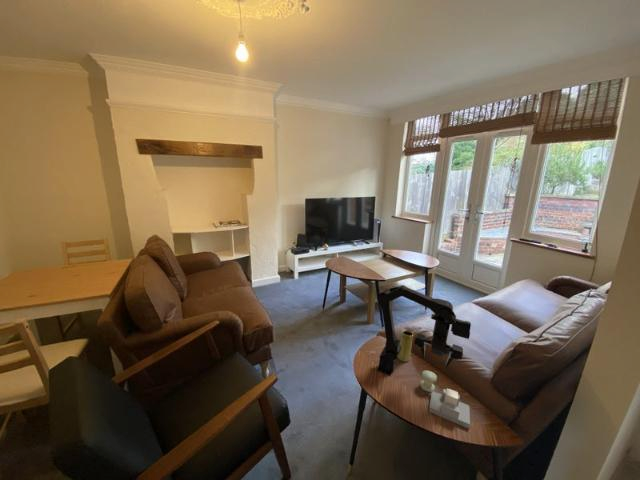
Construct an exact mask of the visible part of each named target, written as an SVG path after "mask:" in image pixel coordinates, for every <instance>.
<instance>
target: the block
mask: <svg viewBox="0 0 640 480" xmlns="http://www.w3.org/2000/svg"><path fill="white" fill-rule="evenodd" d="M458 395H459V392H458V391H456V390H454V389H453V390H452V389H450V388H446V395H445V400H444V402H445V403H448V404H450V405H453V406H455V407H456V406H457V401H458Z"/></svg>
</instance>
